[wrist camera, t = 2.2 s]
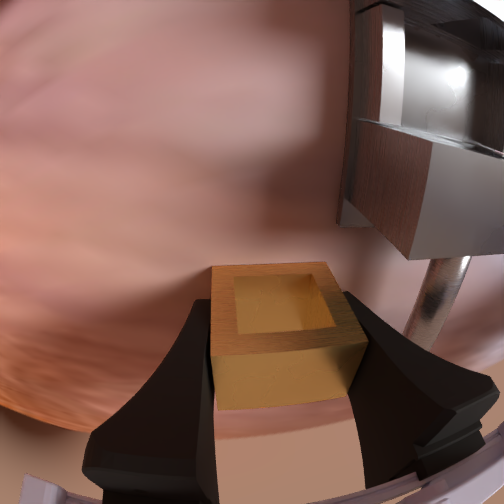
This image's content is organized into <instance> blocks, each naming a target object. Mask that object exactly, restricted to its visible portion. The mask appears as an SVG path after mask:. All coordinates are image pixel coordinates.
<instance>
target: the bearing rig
mask: <svg viewBox="0 0 504 504" xmlns="http://www.w3.org/2000/svg"><path fill="white" fill-rule="evenodd" d="M495 150H498V151H500V152H503V153H504V0H350V76H349V98H348V114H347V128H346V141H345V152H344V162H343V171H342V180H341V189H340V197H339V205H338V212H337V220H336V224H337V225H338V226H339V227H376V228H377V229H378V230H379V231H380V232H381V233H382V234H383V235H384V236H385V237H386V238H387V239H388V240H389V241H390V242H391V243H392V244H393V245H394V246H395V247H396V248H397V249H398V250H399V251H400V253H401V254H402V255H403V256H404V257H405V258H406V259H407V260H422V259H438V258H453V257H467V256H481V255H494V254H504V154H501V153H499V152H496V151H495Z"/></svg>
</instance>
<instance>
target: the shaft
mask: <svg viewBox="0 0 504 504" xmlns="http://www.w3.org/2000/svg"><path fill="white" fill-rule="evenodd" d="M471 258H472V256H467V257H453V258H438V259H431V260H430V263H429V266H428V269H427V272H426V275H425V278H424V280H423V283H422V286H421V289H420V291H419V294H418V297H417V299H416V302H415V305H414V307H413V310H412V312H411V315H410V317H409V319H408V322H407V324H406V327H405V329H404V331H403V333H402V335H403V336H404V337H406V338H407V339H409V340H410V341H412V342H413V343H415V344H417V345H418V346H420V347H421V348H423V349H425V350H427V351H428V352H429V351H430V349H431V347H432V346H433V344H434V342H435V340H436V338H437V336H438V334H439V332H440V330H441V328H442V326H443V324H444V322H445V320H446V318H447V316H448V314H449V312H450V310H451V307H452V305H453V303H454V301H455V298H456V296H457V294H458V291H459V289H460V287H461V284H462V282H463V279H464V277H465V274H466V271H467V269H468V266H469V263H470V261H471Z"/></svg>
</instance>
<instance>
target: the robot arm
mask: <svg viewBox="0 0 504 504" xmlns="http://www.w3.org/2000/svg"><path fill="white" fill-rule="evenodd" d="M343 294H344V296H345V298H346V299H347V301H348V303H349V305H350V307H351V309H352V311H353V312H354V314H355V316H356V318H357V320H358V322H359V324H360V326H361V327H362V329H363V331H364V333H365V335H366V337H367V339H368V341H369V342H368V345H367V347H366V350H365V353H364V355H363V358H362V360H361V362H360V365H359V367H358V370H357V372H356V374H355V377H354V379H353V381H352V384H351V386H350V388H349V390H348V392H347V393H348V396H349V399H350V402H351V406H352V410H353V414H354V418H355V422H356V426H357V431H358V436H359V440H360V446H361V453H362V459H363V467H364V476H365V488H366V490H362V491H359V492H355V493H352V494H348V495H344V496H340V497H336V498H332V499H327V500H323V501H318V502H313V503H308V504H380V503H383V502H386V501H389V500H392V499H394V498H396V497H399V496H402V495H404V494H407V493H409V492H411V491H414V490H416V489H418V488H421V487H422V488H421V490H420V491H418V492H416V493H414V494H412V495H410V496H407V497H405V498H404V499H403V500H401V501H400V502H398V503H396V504H482V503H483V502H484V501H485V500H487V499H488V498H489V497H490V496H492V495H493V494H494V493H495V492H496V491H498V490H499V489H500V488H501V487H502V486H503V485H504V422H502V423H501V424H500V426H498V428H497V429H495V430H494V431H492V432H491V433H489V434H488V435H486V436H484V437H482V435H481V433H480V431H479V430H480V429H481V428H482V424H481V422H480V419H481V418H482V417H483V416H484V415H485V414H486V412H487V411H488V410H489V409H490V408H491V407H492V406H493V405H494V404H495V402H496V401H497V399H498V398H499V394H500V392H499V390H498V388H497V387H496V385H495V384H494V382H493V380H492V379H491V377H490V376H487V375H484V374H481V373H477V372H474V371H471V370H468V369H465V368H463V367H460V366H457V365H455V364H453V363H450V362H448V361H446V360H444V359H442V358H440V357H438V356H436V355H434V354H432V353H430V352H428V351H427V350H425V349H423V348H421V347H420V346H418V345H417V344H415V343H413V342H412V341H410V340H409V339H407V338H406V337H404V336H403V335H402V334H400V333H399V332H398V331H396V330H395V329H393V328H392V327H391V326H390V325H388V324H387V323H386V322H384V321H383V320H382V319H381V318H379V317H378V316H377V315H376V314H375V313H373V312H372V311H371V310H370V309H369V308H368V307H366V306H365V305H364V304H363V303H362V302H360V301H359V300H358V299H357V298H356V297H354V296H353V295H352V294H351V293H349V292H348V291H345V292H343ZM214 394H215V386H214V378H213V371H212V363H211V299H198V300H196V301H195V302H194V303H193V306H192V309H191V312H190V314H189V316H188V318H187V320H186V322H185V324H184V326H183V328H182V330H181V332H180V334H179V336H178V338H177V339H176V341H175V343H174V344H173V346H172V347H171V349H170V351H169V352H168V354H167V355H166V357H165V358H164V360H163V361H162V363H161V364H160V365H159V367H158V368H157V369H156V371H155V372H154V373H153V375H152V376H151V377H150V378H149V379H148V381H147V382H146V383H145V384H144V385H143V386H142V388H141V389H140V390H139V391H138V392H137V393H136V394H135V395H134V396H133V397H132V398H131V399H130V400H129V401H128V402H127V403H126V404H125V405H124V406H123V407H122V408H121V409H120V410H119V411H117V412H116V413H115V414H114V415H113V416H112V417H110V418H109V419H108V420H107V421H105V422H104V423H103V424H101V425H100V426H99V427H98V428H96V429H95V430H94V431H92V432H91V435H90V438H89V441H88V443H87V446H86V449H85V454H84V460H83V466H82V472H83V474H84V475H85V476H86V477H87V478H88V479H89V480H91V481H92V482H93V483H95V484H96V485H98V486H99V487H100V488H102V489H103V500H97V499H93V498H89V497H85V496H82V495H78V494H74V493H71V492H67V491H66V490H65V489H64V488H62V487H60V486H59V485H56V484H54V483H52V482H49V481H47V480H43V479H41V478H38V477H35V476H33V475H30V474H28V473H26V474H24V479H23V483H22V488H21V493H20V499H19V504H220V503H219V493H218V484H217V471H216V460H215V459H216V457H215V441H214V421H213V411H214Z"/></svg>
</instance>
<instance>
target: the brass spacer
mask: <svg viewBox="0 0 504 504" xmlns="http://www.w3.org/2000/svg"><path fill="white" fill-rule="evenodd" d="M295 330H299V331H295ZM283 331H287V332H283ZM269 332H274V333H269ZM253 333H259V334H253ZM238 334H241V335H238ZM368 342H369V341H368V339H367V337H366V335H365V333H364V331H363V329H362V327H361V326H360V324H359V322H358V320H357V318H356V316H355V314H354V312H353V311H352V309H351V307H350V305H349V303H348V301H347V299H346V298H345V296H344V294H343V292H342V290H341V289H340V287H339V285H338V283H337V281H336V280H335V278H334V276H333V274H332V272H331V271H330V269H329V267H328V265H327V264H326V262H309V263H285V264H260V265H233V266H212V286H211V363H212V371H213V378H214V386H215V393H216V400H217V407H218V410H238V409H254V408H266V407H277V406H286V405H295V404H302V403H310V402H316V401H323V400H329V399H335V398H340V397H346V395H347V392H348V390H349V388H350V386H351V384H352V381H353V379H354V377H355V374H356V372H357V370H358V367H359V365H360V362H361V360H362V358H363V355H364V353H365V350H366V347H367V345H368Z"/></svg>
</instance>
